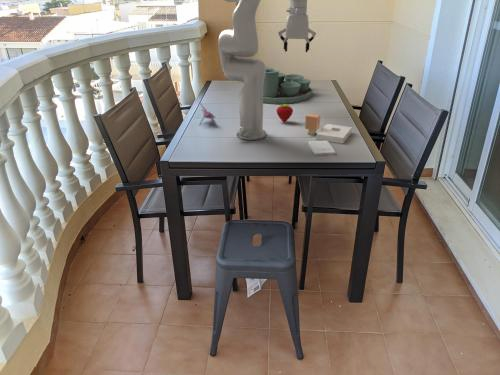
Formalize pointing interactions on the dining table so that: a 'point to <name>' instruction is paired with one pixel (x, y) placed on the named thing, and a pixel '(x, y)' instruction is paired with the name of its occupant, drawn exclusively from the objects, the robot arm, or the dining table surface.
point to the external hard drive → (321, 148)
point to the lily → (207, 114)
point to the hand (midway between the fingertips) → (296, 51)
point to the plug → (312, 123)
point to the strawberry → (284, 112)
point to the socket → (334, 133)
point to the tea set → (284, 87)
